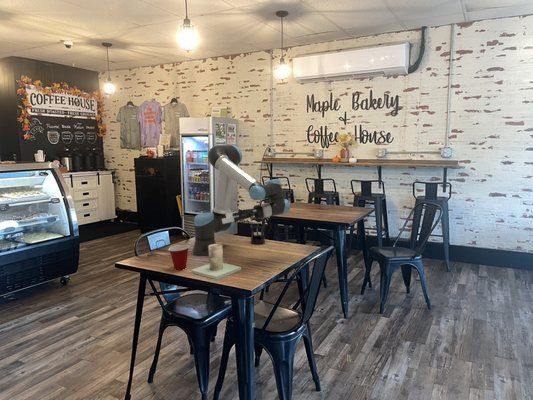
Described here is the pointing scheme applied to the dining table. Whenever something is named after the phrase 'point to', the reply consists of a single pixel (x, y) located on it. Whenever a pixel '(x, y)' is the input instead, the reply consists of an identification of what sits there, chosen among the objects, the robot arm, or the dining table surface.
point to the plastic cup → (179, 256)
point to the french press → (258, 239)
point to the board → (218, 274)
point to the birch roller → (215, 257)
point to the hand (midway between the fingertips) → (224, 219)
